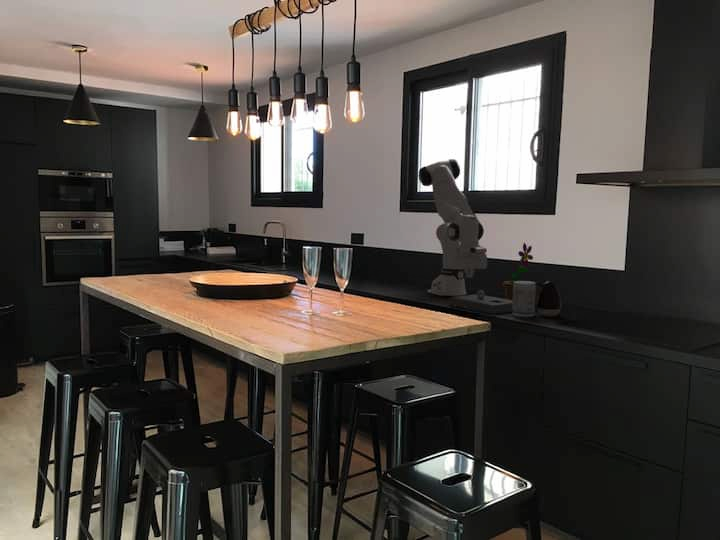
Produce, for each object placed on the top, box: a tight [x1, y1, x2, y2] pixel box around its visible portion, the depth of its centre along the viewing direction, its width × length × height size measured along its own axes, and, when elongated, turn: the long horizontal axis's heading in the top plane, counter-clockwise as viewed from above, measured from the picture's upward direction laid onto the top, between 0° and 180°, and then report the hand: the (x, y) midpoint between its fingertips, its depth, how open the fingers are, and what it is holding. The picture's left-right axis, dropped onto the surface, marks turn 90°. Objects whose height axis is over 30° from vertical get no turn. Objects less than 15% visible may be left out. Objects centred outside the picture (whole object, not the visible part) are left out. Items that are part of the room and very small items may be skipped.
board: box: [449, 294, 513, 315], centre depth 275 cm, size 28×18×4 cm, turn 33°
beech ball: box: [475, 289, 486, 299], centre depth 277 cm, size 4×4×4 cm
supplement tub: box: [511, 280, 537, 318], centre depth 255 cm, size 10×10×15 cm
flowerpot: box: [502, 242, 534, 300], centre depth 287 cm, size 14×14×30 cm
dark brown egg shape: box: [536, 280, 562, 318], centre depth 255 cm, size 10×10×15 cm
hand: (469, 277), depth 282 cm, fingers closed
